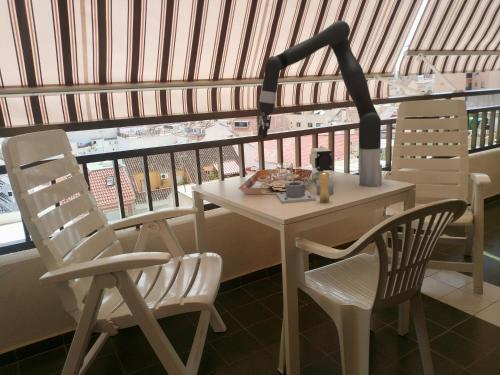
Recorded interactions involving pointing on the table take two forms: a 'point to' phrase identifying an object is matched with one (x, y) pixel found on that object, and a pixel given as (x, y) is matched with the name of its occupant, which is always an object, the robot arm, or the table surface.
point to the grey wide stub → (329, 187)
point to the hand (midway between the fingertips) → (262, 136)
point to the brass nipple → (324, 187)
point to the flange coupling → (295, 193)
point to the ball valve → (320, 161)
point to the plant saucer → (284, 187)
